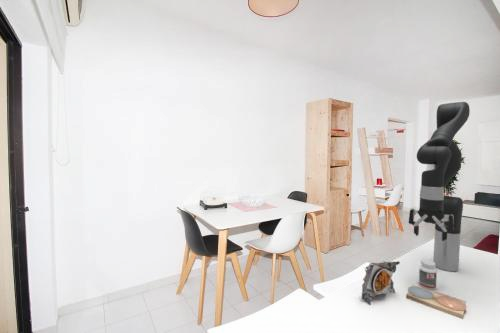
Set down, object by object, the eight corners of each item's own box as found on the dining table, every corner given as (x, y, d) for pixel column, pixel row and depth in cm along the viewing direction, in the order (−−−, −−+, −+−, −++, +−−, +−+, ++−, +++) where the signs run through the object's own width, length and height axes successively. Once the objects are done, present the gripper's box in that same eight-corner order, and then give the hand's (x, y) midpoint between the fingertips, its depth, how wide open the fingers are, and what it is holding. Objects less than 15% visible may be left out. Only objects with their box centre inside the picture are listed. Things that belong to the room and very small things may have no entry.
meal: (371, 306, 87) (372, 270, 86) (361, 299, 91) (362, 265, 90) (399, 295, 93) (400, 261, 92) (388, 289, 97) (389, 257, 96)
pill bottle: (439, 290, 96) (440, 266, 95) (422, 289, 97) (423, 264, 96) (431, 282, 102) (432, 259, 101) (416, 281, 103) (417, 258, 102)
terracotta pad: (438, 293, 92) (438, 293, 92) (467, 303, 86) (467, 302, 86) (435, 303, 86) (435, 302, 86) (465, 314, 81) (465, 313, 81)
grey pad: (410, 284, 98) (410, 283, 98) (435, 292, 93) (435, 292, 93) (405, 293, 92) (405, 292, 92) (431, 302, 87) (431, 301, 87)
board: (412, 287, 99) (412, 284, 99) (465, 304, 87) (465, 301, 87) (406, 297, 92) (406, 294, 91) (462, 318, 80) (463, 315, 80)
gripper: (456, 198, 94) (453, 239, 96) (412, 193, 104) (411, 231, 105) (453, 201, 89) (451, 245, 90) (408, 196, 99) (406, 235, 100)
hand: (429, 237), depth 98 cm, fingers open, 8 cm apart
